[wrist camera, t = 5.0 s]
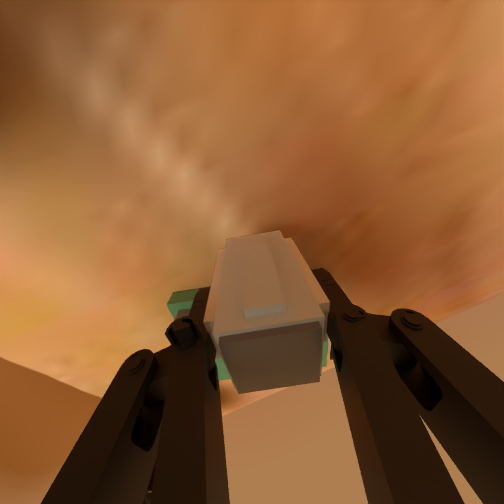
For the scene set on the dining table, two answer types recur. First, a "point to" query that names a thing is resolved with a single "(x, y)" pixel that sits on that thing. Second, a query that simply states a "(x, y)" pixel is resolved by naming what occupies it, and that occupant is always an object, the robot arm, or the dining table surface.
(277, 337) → the plug
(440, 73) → the dining table surface
